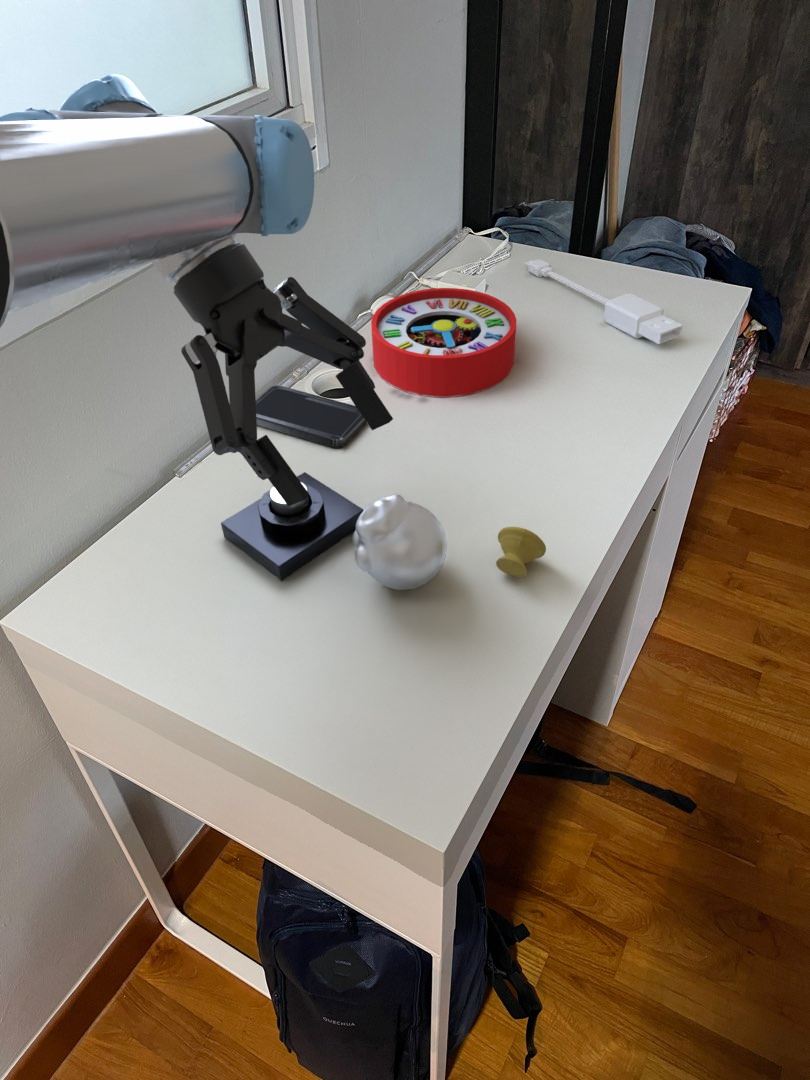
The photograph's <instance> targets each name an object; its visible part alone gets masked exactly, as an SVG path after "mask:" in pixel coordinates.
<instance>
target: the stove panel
mask: <svg viewBox="0 0 810 1080" xmlns="http://www.w3.org/2000/svg"><path fill="white" fill-rule="evenodd" d="M296 476H297V478H298V479H299V481H300V482H302V483H303V484H305V485H306V487H307V490H308V493H309V494H310V496H309V503H310V506H309V509H308V510H307V512H305V513H304V514H302V515H300V516H296V517H291V518H285V517H279V516H277V515H276V514H275V513H274V512H273V510H272V504H271V499H270V491H271V489H269V490H268V491H266V492H264V493H263V495H262V497H261V498H259V499H258V500H256V501H255V502H253V503H251V504H250V505H248V506H246V507H245V508H243V509H241V510H239V511H238V512H236V513H234V514H232V515H231V516H229V517H228V518H227V519H225V520H223V521H221V522H220V525H221V529H222V534H223V538H225V539H226V540H227V541H228V542H229V543H231V544H232V545H234V546H235V547H236V548H237V549H238V550H240V551H242V552H243V553H244V554H245V555H246V556H248V557H249V558H250V559H252V560H253V561H254V562H256V563H257V564H259V566H261V567H262V568H263V569H265V570H266V571H267V572H268V573H270V574H271V575H273V576H274V577H276V578H277V579H278V580H279V581H281V582H283V581H285V580H286V579H287V578H289V577H290V576H292V575H293V574H295V573H297V571H299V570H300V569H302V568H304V567H305V566H307V565H308V564H309V563H311V562H312V561H314V560H315V559H317V558H318V557H319V556H321V555H323V554H324V553H325V552H327V551H328V550H330V549H332V548H333V547H334V546H336V545H337V544H339V543H340V542H342V541H343V540H345V539H346V538H348V537H349V536H351V535H353V533H354V531H355V530H356V522H357V520H358V518H359V516H360V515H361V513H362V512H363V510H364V508H362V507H361V506H359V505H357V504H356V503H354V502H353V501H351V500H350V499H348V498H347V497H344V496H343V495H342V494H340V493H339V492H337V491H336V490H334V489H332V488H331V487H329V486H327V485H325V484H324V483H323V482H322V481H320V480H318V479H316V478H315V477H313V476H312V475H311V474H309V473H307V472H302V473H300V474H298V475H296Z"/></svg>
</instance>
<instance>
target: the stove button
mask: <svg viewBox="0 0 810 1080" xmlns="http://www.w3.org/2000/svg"><path fill="white" fill-rule="evenodd" d="M301 483H302V482H301ZM302 485H303V486H304V487H305V489H306V490H307V487H306V485H305V484H303V483H302ZM270 490H271V491H270ZM270 490H269V491H270V499H271V504H272V510H273V512H274V513H275V514H276V515H277V516H279V517H285V518H291V517H296V516H300V515H302V514H304V513H305V512H307V510H308V509H309V506H310V503H309V497H307V498H306V499H305V500H303V501H301V502H298V503H296V504H293V505H291V506H288V505H287V504H286V503H285V501H284V500H283V498H282V497H281V496H280V494H279V493H278V492H277V490H276V489H275V488H274V486H273V485H272V487H271V489H270ZM307 492H308V490H307Z"/></svg>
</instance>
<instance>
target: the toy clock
mask: <svg viewBox="0 0 810 1080" xmlns="http://www.w3.org/2000/svg"><path fill="white" fill-rule="evenodd" d="M370 326H371V327H370V329H371V343H372V358H373V360H372V361H373V367H374V370H375V373H376V374H377V375H378V377H380V379H381V380H383V381H384V382H385V383H387V384H388V385H390V386H392V387H393V388H395V389H397V390H399V391H403V392H405V393H408V394H411V395H412V394H413V395H417V396H421V397H423V396H424V397H429V398H432V397H433V398H453V397H463V396H468V395H472V394H476V393H480V392H483V391H485V390H488V389H490V388H493V387H494V386H496V385H498V384H499V383H501V382H502V381H503V380H504V379H506V378H507V377H508V376H509V374H510V373H511V372H512V371H513V368H514V366H515V353H516V337H517V317H516V313H515V312H514V311H513V310H512V308H511V307H510V306H509V305H508V304H507V303H505V302H504V301H502V300H500V299H499V298H497V297H495V296H493V295H490V294H488V293H484V292H481V291H477V290H473V289H466V288H456V287H433V288H426V289H418V290H415V291H409V292H407V293H403V294H401V295H398V296H396V297H394V298H392V299H389V300H388V301H386V302H384V303H383V304H382V305H381V306H380V307H378V308H377V309H376V311H375V312H374V314H373V315H372V317H371V321H370Z"/></svg>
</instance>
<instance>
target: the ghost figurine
mask: <svg viewBox="0 0 810 1080" xmlns="http://www.w3.org/2000/svg"><path fill="white" fill-rule="evenodd" d="M352 544H353V547H354V548H355V550H354V561H355V563H356V566H357V567H358V569H359V570H361V571H362V572H364V573H367V574H368V575H369V576H370V577H371V578H372V579H373V580H374V581H375V582H377V584H380V585H381V586H383V587H385V588H389V589H392V590H397V591H398V590H399V591H400V590H401V591H405V590H407V591H408V590H412V589H416V588H419V587H421V586H423V585H425V584H427V583H428V582H430V581H431V580H432V579H433V578H434V577H435V576H436V575H437V574H438V573H439V571H440V570H441V568H442V567H443V564H444V561H445V558H446V555H447V548H448V547H447V545H448V544H447V536H446V533H445V530H444V527H443V524H442V523H441V521H440V520H439V518H438V517H437V516H436V515H435V514H434V513H433V512H432V511H431V510H429V509H428V508H426V507H424V506H423V505H421V504H418V503H415V502H412V501H408V500H406V499H405V498H404V496H402V495H400V494H399V493H398V494H397V493H396V494H390V495H387V496H382V497H379V498H376V499H374V500H373V501H370V503H368V504H367V506H366V507H365V508H363V512H362V513H361V515H360V516H359V518H358V520H357V522H356V530H355V531H354V532H353V533H352Z"/></svg>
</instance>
